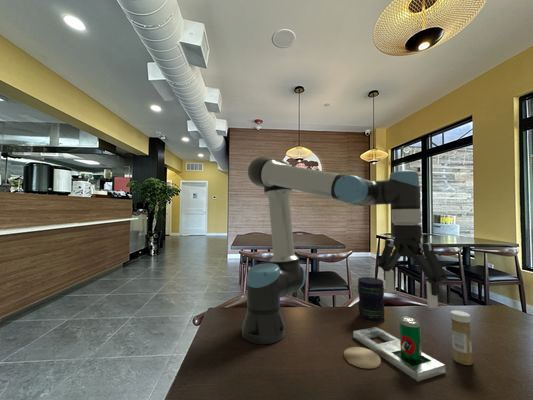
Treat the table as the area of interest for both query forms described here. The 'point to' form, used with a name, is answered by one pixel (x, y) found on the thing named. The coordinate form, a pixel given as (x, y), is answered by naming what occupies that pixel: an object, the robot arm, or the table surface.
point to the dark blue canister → (371, 299)
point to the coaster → (362, 357)
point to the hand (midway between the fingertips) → (409, 299)
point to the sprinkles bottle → (461, 337)
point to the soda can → (410, 341)
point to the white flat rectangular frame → (398, 354)
